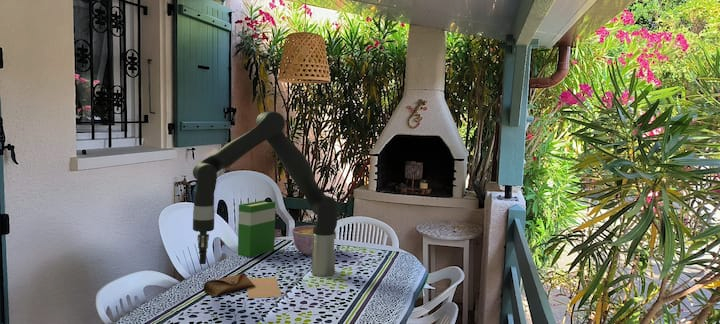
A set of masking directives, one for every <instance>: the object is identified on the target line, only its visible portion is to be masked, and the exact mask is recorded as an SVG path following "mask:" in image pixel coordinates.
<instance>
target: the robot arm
mask: <svg viewBox="0 0 720 324" xmlns="http://www.w3.org/2000/svg"><path fill="white" fill-rule="evenodd" d="M256 117H257V118H256V120H255V127H253V128H252V129H251V130H249V131H247V132H246V133H244V134H242V135H241V136H239V137H237V138H235V139H233V140H232V141H231V140H230V142H228V143H227V144H226V145H224V146H223V147H221V148H220V149H219V150H217V151H216V152H215V153H213V154H212V155H210V156H208V157H206V158H204V159H203V160H201V161H200V162H198V163H196V165H195V166H194V168H192V176H193V177H194V179H195V180H197V183H196V190H195V191H194V194H193V195H194V196H193V211H192V230H193V231H194V232H197V233H198V232H199V234H197V248H198V254H199V264H200V265H206V263H207V253H208V248H209V241H210V239H209V238H210V234H209V233H208V232H212V231H214V230H215V190H216V185H217V182H218V181H217V180H218V172H219V171H221V170H224V169H228V168H229V167H231V166H232V165H233V164H235V162H237V161H238V160H240V159H241V158H242V157H243V156H245V155H246V154H247V153H249V152H250V151H252V150H253V149H255V147H257V146H259V145H260V144H262V143H264V142H265V141H266V142H268V144H269V145H270V146H271V148H272V149H273V151H274V152H275V155H276V156H277V157H278V159H279V161H280V162H281V164H282V166H283V168H284V169H285V171H287V173H288V174H289V176H290V177H291V179H292V181H293V182H294V183H295V185H296V186H297V187H298V189H299V190H300V191H301V193H302V194H303V196H304V198H305V199H306V202H307V204H308V206H309V208H310V209H311V211H312V213H314V215H316V217H317V218H316V224H315V225H313V226H314V227H313V245H312V255H311V274H312V275H314V276H317V277H326V276H327V277H328V276H331V275H335V270H336V268H335V267H336V266H335V265H336V251H335V237H336V236H335V234H336V229H337V224H338V214H339V212H338V211H339V206H338V202H337V200H336V199H335V198H334V197H332V196H329V195H326V194H325V193H324V191H322V189H321V188H320V186H319V184H318V183H317V181H316V178H315V175H314V171H313V168H312V166H311V164H310V162H309V161H308V160H307V158H306V157H305V155H304V153H302V151H301V150H300V149H299V148H298V147H297V146H296V145H295V144H294V143H293V142H292V141H290V139H289V138H288V137H287V136H286V134H285V132H284V128H285V124H286V120H285V117H284V116H283V114H281V113H279V112H277V111H264V112H261V113H260V114H258V116H256Z"/></svg>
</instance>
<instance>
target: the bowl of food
mask: <svg viewBox="0 0 720 324" xmlns="http://www.w3.org/2000/svg"><path fill="white" fill-rule="evenodd" d="M314 226H315V225H301V226H300V225H299V226H296V227H293V228H291V231H292V237H293V240H294V241H293V242H294V246H295V248H296V249H297V251H299V252H301V253H302V254H304V255H305V254H306V256H312V245H313V227H314Z"/></svg>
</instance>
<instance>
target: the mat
mask: <svg viewBox="0 0 720 324" xmlns="http://www.w3.org/2000/svg"><path fill="white" fill-rule="evenodd" d="M249 280H250V281H251V282H252V283H253V284H254V285H255V286H252V287H250V288H246V292H247V298H248V299H249V300H250V299H263V298H279V297H281V298H282V297H283V295H282V293H281V290H280V289H281V288H280V286H279V283H278V280H277V278H276V277H261V278H259V277H258V278H257V277H256V278H249Z"/></svg>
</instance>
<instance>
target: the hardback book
mask: <svg viewBox="0 0 720 324" xmlns="http://www.w3.org/2000/svg"><path fill="white" fill-rule="evenodd" d="M237 227H238V228H237V233H238V234H237V245H238V246H237V256H240V257H241V256H242V257H246V258H252V257H255V256H258V255H262V254H267V253H268V252H271V251H274V250H275V238H276V237H275V233H276V232H275V231H276V229H275V228H276V201H271V202H266V200H258V201H253V202H252V201H251V202H247V203H241V204H238V225H237Z"/></svg>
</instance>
